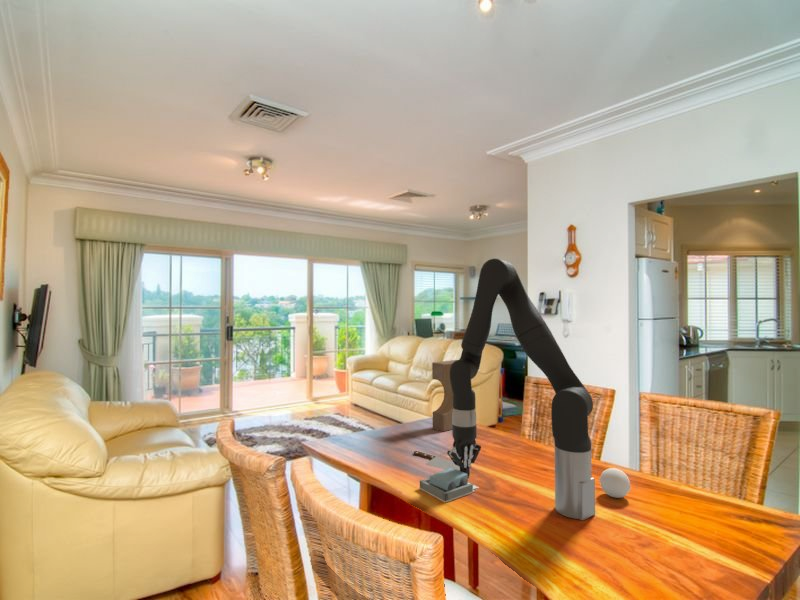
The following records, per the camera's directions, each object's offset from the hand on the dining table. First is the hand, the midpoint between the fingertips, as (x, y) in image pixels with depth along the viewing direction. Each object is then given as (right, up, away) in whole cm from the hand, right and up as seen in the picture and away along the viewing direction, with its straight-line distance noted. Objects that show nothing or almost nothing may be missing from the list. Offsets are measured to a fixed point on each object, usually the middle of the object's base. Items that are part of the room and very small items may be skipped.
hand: (464, 478), depth 134 cm
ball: (+42, -2, -9) cm, 43 cm away
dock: (-5, -2, -4) cm, 6 cm away
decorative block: (+3, -3, +63) cm, 63 cm away
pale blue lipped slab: (-6, -1, -5) cm, 8 cm away
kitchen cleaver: (-7, -3, +19) cm, 20 cm away
